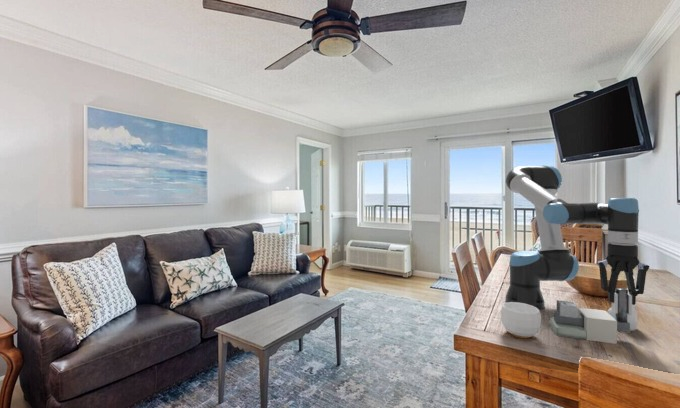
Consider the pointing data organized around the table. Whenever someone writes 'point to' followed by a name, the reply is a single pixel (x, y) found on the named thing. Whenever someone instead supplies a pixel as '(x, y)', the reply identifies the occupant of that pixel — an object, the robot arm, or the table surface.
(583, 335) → the tray
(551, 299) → the table surface
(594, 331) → the housing
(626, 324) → the grey l-shaped bracket
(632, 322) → the figurine
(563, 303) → the block
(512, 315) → the white faceted bowl
